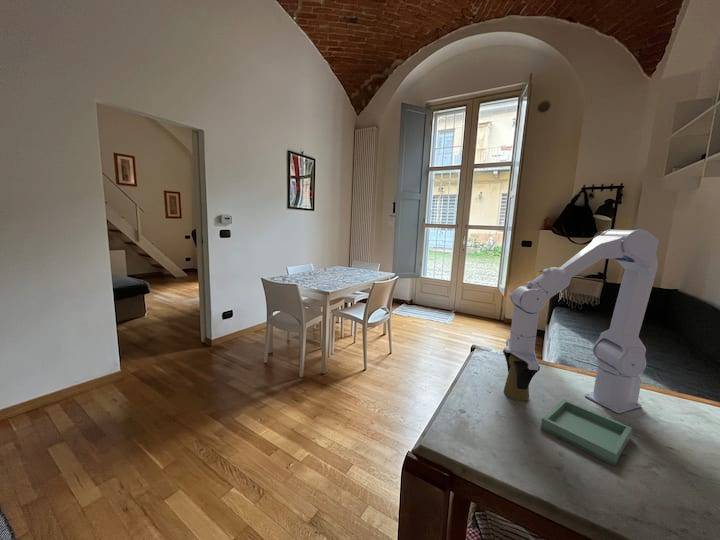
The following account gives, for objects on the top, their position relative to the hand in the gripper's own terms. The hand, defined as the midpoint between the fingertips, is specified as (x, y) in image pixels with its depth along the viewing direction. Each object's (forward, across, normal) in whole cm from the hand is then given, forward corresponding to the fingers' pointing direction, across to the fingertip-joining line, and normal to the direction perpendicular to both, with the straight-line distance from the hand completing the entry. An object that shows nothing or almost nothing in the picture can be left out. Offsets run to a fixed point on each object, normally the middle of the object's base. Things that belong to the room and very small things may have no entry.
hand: (517, 382), depth 77 cm
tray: (+3, +14, +9) cm, 16 cm away
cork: (+4, 0, 0) cm, 4 cm away
